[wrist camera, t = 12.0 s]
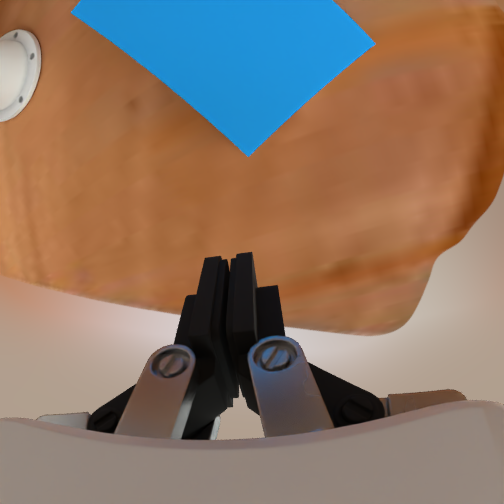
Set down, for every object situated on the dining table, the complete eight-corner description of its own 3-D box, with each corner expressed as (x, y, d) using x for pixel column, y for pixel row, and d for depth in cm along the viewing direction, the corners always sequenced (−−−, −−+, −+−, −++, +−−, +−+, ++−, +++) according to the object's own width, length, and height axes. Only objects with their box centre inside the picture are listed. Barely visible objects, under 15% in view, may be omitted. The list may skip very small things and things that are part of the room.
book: (250, 158, 26) (66, 14, 18) (250, 151, 30) (86, 21, 21) (381, 40, 20) (186, -97, 12) (365, 46, 24) (193, -80, 16)
